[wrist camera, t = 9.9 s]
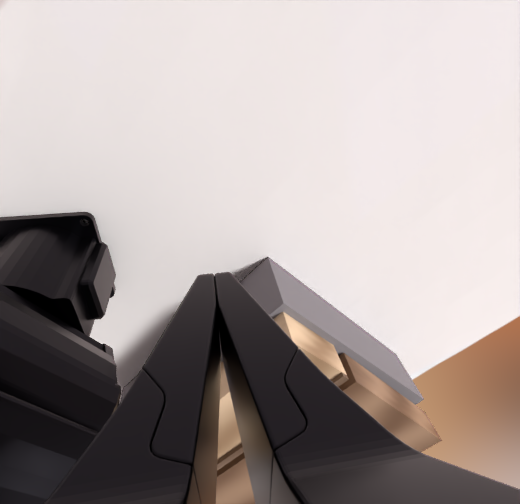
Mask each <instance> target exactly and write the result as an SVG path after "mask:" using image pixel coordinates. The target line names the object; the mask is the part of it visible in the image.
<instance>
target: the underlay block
mask: <svg viewBox="0 0 520 504" xmlns="http://www.w3.org/2000/svg"><path fill="white" fill-rule="evenodd" d="M240 284H241V285H242V286H243V287H244V288H245V289H246V290H247V291H248V292H249V293H250V295H251V296H252V297H253V298H254V299H255V300H256V301H257V302H258V303H259V304H260V306H261V307H262V308H263V309H264V310H265V311H266V312H267V313H268V314H269V315H270V316H271V318H272V319H275V318H276V317H277V316H278V315H279V314H281V313H282V312H284V313H286V314H287V315H289V316H290V317H292V318H293V319H295V320H296V321H298V322H299V323H301V324H302V325H304V326H305V327H307V328H308V329H310V330H311V331H313V332H314V333H316V334H317V335H319V336H320V337H322V338H323V339H325V340H326V341H328V342H330V343H331V344H333V345H334V347H335V349H336V352H337V354H338V356H340V355H341V354H342V353H345V354H346V355H348V356H349V357H350V358H352V359H353V360H355V361H356V362H357V363H359V364H360V365H361V366H363V367H364V368H365V369H367V370H368V371H370V372H371V373H372V374H374V375H375V376H376V377H378V378H379V379H381V380H382V381H383V382H385V383H386V384H387V385H389V386H390V387H392V388H393V389H394V390H396V391H397V392H398V393H400V394H401V395H403V396H404V397H405V398H407V399H408V400H409V401H411V402H412V403H413V404H415V405H416V404H417V403H419V402H421V401H422V400H423V399H424V398H423V397H422V395H421V394H420V392H419V391H418V389H417V387H416V386H415V384H414V383H413V381H412V379H411V378H410V376H409V374H408V373H407V371H406V370H405V368H404V366H403V365H402V363H401V361H400V360H399V358H398V357H397V355H396V354H395V353H394V352H392V351H391V350H390V349H388V348H387V347H386V346H384V345H383V344H382V343H380V342H379V341H378V340H376V339H375V338H374V337H373V336H371V335H370V334H369V333H367V332H366V331H365V330H363V329H362V328H361V327H359V326H358V325H357V324H355V323H354V322H353V321H352V320H350V319H349V318H348V317H346V316H345V315H344V314H342V313H341V312H340V311H338V310H337V309H336V308H334V307H333V306H332V305H331V304H329V303H328V302H327V301H325V300H324V299H323V298H321V297H320V296H319V295H317V294H316V293H315V292H313V291H312V290H311V289H310V288H308V287H307V286H306V285H304V284H303V283H302V282H300V281H299V280H298V279H296V278H295V277H294V276H292V275H291V274H290V273H288V272H287V271H286V270H285V269H283V268H282V267H281V266H279V265H278V264H277V263H275V262H274V261H273V260H271V259H270V258H269V257H267V258H266V259H265V260H264V261H263V262H262V263H261V264H260V265H259V266H257V267H256V268H255V269H254V270H253V271H252V272H251V273H250V274H249V275H248V276H246V277H245V278H244V279H243V280H242V281H241V282H240ZM219 334H220V333H219ZM220 346H221V344H220ZM221 362H223V359H222V353H221ZM137 376H138V375H137ZM137 376H136V377H137ZM136 377H135V378H134V379H133V380H132V381H131V382H130V383H129V384H127V385H126V386H125V387H124V388H123V393H122V398H121V401H122V399H123V398H124V396H125V395H126V393H127V392H128V390H129V389H130V387H131V386H132V384H133V382H134V381H135V379H136Z"/></svg>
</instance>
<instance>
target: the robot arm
mask: <svg viewBox="0 0 520 504" xmlns="http://www.w3.org/2000/svg"><path fill="white" fill-rule="evenodd" d="M82 219H87V220H88V221H89V223H84V222H83V221H82ZM115 277H116V274H115V270H114V267H113V263H112V260H111V256H110V253H109V249H108V246H107V245H106V244H105V243H103V242H102V241H101V238H100V235H99V231H98V228H97V224H96V221H95V218H94V216H93V215H92V214H90V213H88V212H77V213H62V214H47V215H32V216H17V217H2V218H0V504H216V484H217V458H218V432H219V406H220V379H221V353H222V359H223V364H224V369H225V373H226V377H227V382H228V386H229V390H230V395H231V399H232V403H233V408H234V412H235V416H236V421H237V425H238V430H239V434H240V438H241V443H242V447H243V451H244V456H245V460H246V464H247V469H248V473H249V477H250V482H251V486H252V490H253V495H254V499H255V504H520V489H518V488H515V487H512V486H509V485H507V484H504V483H501V482H498V481H495V480H493V479H490V478H487V477H485V476H482V475H479V474H477V473H474V472H471V471H468V470H466V469H463V468H460V467H458V466H455V465H452V464H449V463H447V462H444V461H441V460H438V459H436V458H433V457H430V456H428V455H425V454H423V453H421V452H419V451H417V450H415V449H414V448H412V447H410V446H409V445H407V444H405V443H404V442H402V441H401V440H400V439H398V438H397V437H396V436H394V435H393V434H392V433H391V432H389V431H388V430H387V429H386V428H385V427H384V426H382V425H381V424H380V423H379V422H378V421H377V420H375V419H374V418H373V417H372V416H371V415H370V414H369V413H367V412H366V411H365V410H364V409H363V408H362V407H360V406H359V405H358V404H357V403H356V402H355V401H354V400H352V399H351V398H350V397H349V396H348V395H347V394H345V393H344V392H343V391H342V390H341V389H340V388H339V387H338V386H337V385H335V384H334V383H333V382H332V381H331V380H330V379H329V378H328V377H327V376H326V375H324V374H323V373H322V371H321V370H320V369H319V368H318V367H317V366H316V365H315V364H314V363H313V362H312V361H311V360H310V359H309V358H308V357H307V356H306V355H305V354H304V352H303V351H302V350H301V349H299V348H298V346H297V345H296V344H295V343H294V342H293V341H292V339H291V338H290V337H289V336H288V335H287V334H286V333H285V332H284V331H283V330H282V329H281V327H280V326H279V325H278V324H277V323H276V322H275V321H274V320H273V319H272V318H271V316H270V315H269V314H268V313H267V312H266V311H265V310H264V309H263V308H262V307H261V306H260V304H259V303H258V302H257V301H256V300H255V299H254V298H253V297H252V296H251V295H250V293H249V292H248V291H247V290H246V289H245V288H244V287H243V286H242V285H241V284H240V282H239V281H238V280H237V279H236V278H235V277H234V276H233V275H232V274H231V273H230V272H224V273H216V274H215V278H214V275H213V274H203V275H198V276H197V278H196V279H195V281H194V283H193V284H192V286H191V288H190V289H189V291H188V293H187V294H186V296H185V298H184V299H183V301H182V303H181V304H180V306H179V308H178V309H177V311H176V313H175V314H174V316H173V318H172V319H171V321H170V323H169V324H168V326H167V328H166V329H165V331H164V333H163V334H162V336H161V338H160V339H159V341H158V343H157V344H156V346H155V348H154V349H153V351H152V353H151V354H150V356H149V358H148V359H147V361H146V363H145V364H144V366H143V368H142V369H143V370H141V371H140V372H139V374H138V376H137V377H136V379H135V381H134V382H133V384H132V386H131V387H130V389H129V390H128V392H127V393H126V395H125V396H124V398H123V399H122V401H121V403H120V404H119V399H120V395H121V387H120V386H119V385H118V384H117V377H116V364H115V362H114V356H113V350H112V348H111V347H109V346H108V345H106V344H100V343H99V342H97V341H95V340H94V339H92V338H90V337H89V336H90V333H91V330H92V327H93V324H94V320H95V319H101V318H102V317H103V316H104V315H105V312H106V308H107V305H108V301H109V298H111V297H113V296H114V294H115V285H114V280H115ZM219 333H220V334H219ZM220 344H221V346H220Z"/></svg>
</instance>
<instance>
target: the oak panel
mask: <svg viewBox="0 0 520 504" xmlns="http://www.w3.org/2000/svg"><path fill="white" fill-rule="evenodd" d="M273 320H274V321H275V322H276V323H277V324H278V325H279V326H280V327H281V329H282V330H283V331H284V332H285V333H286V334H287V335H288V336H289V337H290V338H291V339H292V341H293V342H294V343H295V344H296V345H297V346H298V348H299V349H301V350H302V351H303V352H304V354H305V355H306V356H307V357H308V358H309V359H310V360H311V361H312V362H313V363H314V364H315V365H316V366H317V367H318V368H319V369H320V370H321V371H322V373H323V374H324V375H326V376H327V377H328V378H329V379H330V380H331V381H332V382H333V383H334V384H335V385H337V386H338V387H339V386H340V385H342V384H343V383H344V382H346V381H347V380H349V379H348V376H347V374H346V372H345V370H344V367H343V365H342V363H341V361H340V358H339V356H338V354H337V352H336V349H335V347H334V345H333V344H331V343H330V342H328V341H326V340H325V339H323V338H322V337H320V336H319V335H317V334H316V333H314V332H313V331H311V330H310V329H308V328H307V327H305V326H304V325H302V324H301V323H299V322H298V321H296V320H295V319H293V318H292V317H290V316H289V315H287V314H286V313H284V312H282V313H281V314H279V315H278V316H277V317H276V318H275V319H273ZM243 452H244V451H243V447H242V443H241V438H240V434H239V430H238V425H237V421H236V416H235V412H234V408H233V403H232V399H231V395H230V390H229V386H228V382H227V377H226V373H225V369H224V364H223V362H221V379H220V406H219V432H218V458H217V471H218V470H219V469H220V468H222V467H223V466H225V465H226V464H228V463H229V462H230V461H232V460H233V459H235V458H236V457H238V456H239V455H241V454H242V453H243Z"/></svg>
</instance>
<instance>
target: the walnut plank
mask: <svg viewBox="0 0 520 504" xmlns="http://www.w3.org/2000/svg"><path fill="white" fill-rule="evenodd" d="M339 358H340V361H341V363H342V365H343V367H344V370H345V372H346V374H347V376H348V379H349V380H347V381H346V382H344V383H343V384H342V385H340V386H339V388H340V389H341V390H342V391H343V392H344V393H345V394H347V395H348V396H349V397H350V398H351V399H352V400H354V401H355V402H356V403H357V404H358V405H359V406H360V407H362V408H363V409H364V410H365V411H366V412H367V413H369V414H370V415H371V416H372V417H373V418H374V419H375V420H377V421H378V422H379V423H380V424H381V425H382V426H384V427H385V428H386V429H387V430H388V431H389V432H391V433H392V434H393V435H394V436H396V437H397V438H398V439H400V440H401V441H402V442H404V443H405V444H407V445H409V446H410V447H412V448H414V449H415V450H417V451H419V452H422V451H424V450H426V449H428V448H429V447H431V446H433V445H435V444H436V443H438V442H440V441H442V440H441V438H440V436H439V435H438V433H437V431H436V430H435V428H434V426H433V424H432V423H431V421H430V419H429V417H428V416H427V414H426V412H424V411H423V410H422V409H420V408H419V407H418V406H416V405H415V404H413V403H412V402H411V401H409V400H408V399H407V398H405V397H404V396H403V395H401V394H400V393H398V392H397V391H396V390H394V389H393V388H392V387H390V386H389V385H387V384H386V383H385V382H383V381H382V380H381V379H379V378H378V377H376V376H375V375H374V374H372V373H371V372H370V371H368V370H367V369H365V368H364V367H363V366H361V365H360V364H359V363H357V362H356V361H355V360H353V359H352V358H350V357H349V356H348V355H346V354H345V353H342V354H341V355H340V356H339ZM216 504H255V499H254V495H253V490H252V486H251V482H250V477H249V473H248V469H247V464H246V460H245V456H244V452H243V453H242V454H241V455H239V456H238V457H236V458H235V459H233V460H232V461H230V462H229V463H228V464H226V465H225V466H223V467H222V468H220V469H219V470H218V471H217V484H216Z"/></svg>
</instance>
